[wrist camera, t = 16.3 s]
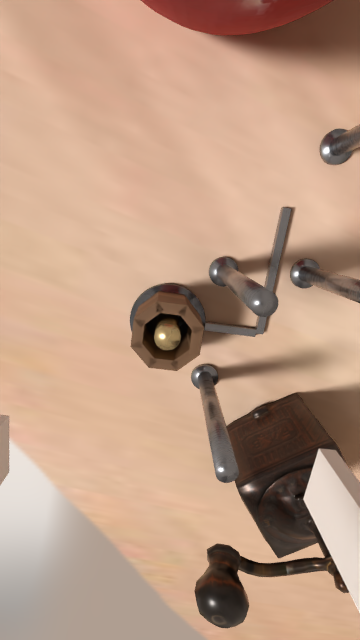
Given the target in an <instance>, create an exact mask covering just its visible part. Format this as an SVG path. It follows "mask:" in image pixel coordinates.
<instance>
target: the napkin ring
mask: <svg viewBox="0 0 360 640" xmlns="http://www.w3.org/2000/svg"><path fill="white" fill-rule="evenodd" d="M159 313H165V314H173V315H181V317H182V318H183V319H184V320H185V322H186V323H187V324H188V328H187V333H186V334H184V335H183V336H181V340H180V343H179V345H178V346H177V347H176V348H174V349H172V350H163V349H161V348H159V347H158V346H157V345H156V343H155V340H154V337H153V335H152V334H151V333H150V332H149V331H148V329H147V328H146V324H147V322H149V321H150V320H151V319H153V318H154V317H155V316H157V315H158V314H159ZM203 332H204V326H203V323H202V320H201V317H200V315H199V313H198V312H197V310H196V309H195V308H194V306H193V305H192V304H191V302H190V301H189V300H188V299H187V297H186V296H185V295H184V294H178V293H171V292H163V291H158V292H157V293H156V294H154V295H153V296H152V297H150V298H149V299H148V300H146V301H145V302H144V303H142V304H141V305H140V306H139V307H138V309H137V312H136V314H135V317H134V321H133V330H132V340H131V347H132V349H133V350H134V351H135V352H136V353H137V354H138V356H139V357H140V358H141V359H142V360H143V361H144V363H145V364H146V365H147V366H148V367H149V368H156V369H165V370H173V371H177V370H179V369H180V368H182V367H183V366H185V365H186V364H187V363H189V362H190V361H192V360H193V359H194V358H196V357H197V356H199V355H200V349H201V343H202V338H203Z"/></svg>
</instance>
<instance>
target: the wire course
mask: <svg viewBox="0 0 360 640" xmlns="http://www.w3.org/2000/svg"><path fill="white" fill-rule="evenodd" d="M358 147H360V125H358V126H356V127H354V128H352V129H351V130H349V131H346V130H344V129H335V130H333V131H331V132H329V133H328V134H327V135H326V136H325V137H324V138H323V140H322V142H321V145H320V155H321V158H322V159H323V161H324V162H326V163H327V164H329V165H338V164H340V163H343V162H344V161H346V160H347V159H348V158H349V157H350V155H351V153H352V151H353V150H354V149H356V148H358ZM290 212H291V209H290V208H284V207H283V208H281V212H280V216H279V221H278V226H277V230H276V235H275V239H274V244H273V249H272V253H271V258H270V262H269V267H268V272H267V276H266V281H265V285H264V287H263V286H261V285H260V284H258V283H257V282H255V281H253V280H252V279H250V278H248V277H247V276H245V275H243V274H242V273H240V272H238V266H237V264H236V263H235V262H234V261H233V260H232V259H230V258H228V257H220V258H217V259H216V260H214V261H213V262H212V264H211V265H210V268H209V276H210V279H211V280H212V281H213V283H214V284H216V285H218V286H223V287H224V286H227V287H228V288H229V289H230V290H231V291H232V292H233V293H234V294H235V295H236V296H237V297H238V298H239V299H240V300H242V301H243V302H244V303H245V304H246V305H247V306H248V307H249V308H250V309H251V310H252V311H253V312H254V313H255V314H256V315H258V318H257V322H256V327H255V328H250V327H242V326H234V325H227V324H219V323H211V322H205V328H204V330H206V331H214V332H221V333H229V334H237V335H245V336H252V337H255V335H256V333H257V334H263V333H264V328H265V324H266V319H267V316H270V315H272V314H273V313H274V312H275V311H276V309H277V307H278V298H277V296H276V295H275V294H274V293H273V288H274V284H275V279H276V275H277V270H278V266H279V261H280V257H281V252H282V248H283V244H284V239H285V235H286V230H287V226H288V221H289V217H290ZM290 278H291V281H292V282H293V284H294V285H296V286H298V287H300V288H309V287H311V286H313V285H314V286H317V287H319V288H322V289H324V290H327V291H330V292H332V293H335V294H337V295H340V296H343V297H345V298H348V299H350V300H353V301H356V302H358V303H360V280H359V279H355V278H351V277H347V276H344V275H340V274H336V273H332V272H328V271H324V270H321V269H320V268H319V265H318V264H317V263H316V262H315V261H313V260H310V259H302V260H299V261H298V262H296V263H295V264H294V265H293V267H292V269H291V271H290ZM191 379H192V383H193V384H194V386H195V387H197V388H198V389H200V393H201V399H202V404H203V409H204V415H205V420H206V425H207V430H208V436H209V441H210V446H211V452H212V457H213V462H214V468H215V473H216V477H217V479H218V480H219V481H221V482H224V483H229V482H232V481H234V480H235V479H236V478H237V477H238V475H239V469H238V466H237V463H236V459H235V456H234V452H233V449H232V445H231V442H230V438H229V435H228V431H227V428H226V424H225V421H224V417H223V414H222V410H221V407H220V403H219V400H218V396H217V393H216V389H215V384H216V383H217V381H218V374H217V371H216V369H215V368H214V367H213V366H211V365H208V364H202V365H199V366H197V367H196V368H195V369H194V370H193V371H192V374H191Z"/></svg>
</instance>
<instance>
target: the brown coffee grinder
mask: <svg viewBox="0 0 360 640" xmlns="http://www.w3.org/2000/svg"><path fill="white" fill-rule="evenodd" d="M226 428H227V431H228V435H229V438H230V442H231V445H232V449H233V452H234V456H235V459H236V463H237V466H238V469H239V475H238V477H237V478H236V479H235V483H236V487H237V489H238V491H239V494H240V496H241V499H242V501H243V502H244V504H245V506H246V508H247V509H248V511H249V513H250V514H251V516H252V518H253V519H254V521H255V522H256V524H257V526H258V528H259V530H260V532H261V533H262V535H263V537H264V538H265V540H266V541H267V542H268V544H269V545H270V547H271V548H272V550H273V551H274V553H275V554H276V556H277V557H278V558H281V557H283V556H286V555H289V554H291V553H294V552H296V551H299V550H301V549H304V548H306V547H308V546H311V545H313V544H316V543H319V546H320V548H321V550H322V552H323V554H324V556H325V558H317V557H314V558H303V559H297V560H292V561H287V562H278V563H258V562H254V561H251V560H248V559H246V558H244V557H242V556H240V555H239V552H238V551H236V550H235V549H233V548H232V547H231V546H229V545H224V544H215V545H214V546H212V547H210V548H208V549H207V557H208V562H209V567H208V568H207V570H206V572H205V573H204V574H203V575H202V576H201V577H200V579H199V580H198V581H197V582H196V587H195V596H196V601H197V606H198V609H199V612H200V614H201V615H202V616H203V617H204V618H205V619H206V620H207V621H209V622H210V623H212V624H214V625H216V626H218V627H221V628H230V627H234V626H237V625H239V624H241V623H242V622H243V621H244V619H245V617H246V615H247V611H248V608H249V602H248V597H247V594H246V592H245V590H244V588H243V586H242V584H241V582H240V580H239V577H238V574H237V572H238V570H241V571H243V572H245V573H247V574H251V575H255V576H258V577H278V576H287V575H294V574H301V573H308V572H316V571H328V572H329V573H330V574H331V575H332V576H334V581H335V586H336V588H338V589H339V590H340V591H342V592H343V593H348V592H349V591H348V589H347V586H346V584H345V582H344V580H343V578H342V576H341V574H340V572H339V570H338V568H337V566H336V564H335V562H334V560H333V558H332V556H331V554H330V552H329V550H328V548H327V546H326V544H325V542H324V540H323V538H322V536H321V534H320V532H319V530H318V528H317V526H316V524H315V522H314V520H313V518H312V516H311V514H310V512H309V510H308V508H307V506H306V504H305V502H304V500H303V499H304V495H305V492H306V489H307V485H308V482H309V479H310V476H311V472H312V469H313V466H314V463H315V459H316V456H317V453H318V450H319V448H320V449H330V450H336V451H337V453H338V454H339V455H340V457H341V458H342V459H343V460H344V462H345V463H346V461H345V459H344V457H343V455H342V453H341V451H340V449H339V448H338V446H337V445H336V443H335V442H334V441H333V440H332V439H331V437H330V436H329V435H328V434H327V432H326V431H325V430H324V428H323V427H322V426H321V424H320V423H319V422H318V421H317V419H316V418H315V417H314V415H313V414H312V413H311V412H310V410H309V409H308V408H307V407H306V405H305V404H304V402H303V400H302V398H301V397H300V396H299V395H298V394H297V393H295V394H293V395H290V396H288V397H285V398H283V399H280V400H278V401H275V402H273V403H270V404H267V405H264V406H262V407H260V408H257V409H255V410H253V411H251V412H250V413H249V414H247V415H245V416H244V417H242V418H240V419H238V420H236V421H234V422H232V423H231V424H229V425H228V426H227V427H226ZM346 464H347V463H346Z"/></svg>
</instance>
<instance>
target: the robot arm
mask: <svg viewBox="0 0 360 640" xmlns="http://www.w3.org/2000/svg"><path fill="white" fill-rule="evenodd" d="M8 473H9V416H6V415H0V485H1V483H2V482H3V480H4V479H5V477H6V476H7V474H8ZM303 500H304V502H305V504H306V506H307V508H308V510H309V512H310V514H311V516H312V518H313V520H314V522H315V524H316V526H317V528H318V530H319V532H320V534H321V536H322V538H323V540H324V542H325V544H326V546H327V548H328V550H329V552H330V554H331V556H332V558H333V560H334V562H335V564H336V566H337V568H338V570H339V572H340V574H341V576H342V578H343V580H344V582H345V584H346V586H347V589H348V591H349V593H350V595H351V597H352V599H353V601H354V603H355V605H356V607H357V609H358V611H359V613H360V482H359V480H358V479H357V478H356V476H355V475H354V474H353V472H352V471H351V470H350V468H349V467H348V466H347V464H346V463H345V462H344V460H343V459H342V458H341V457H340V455H339V454H338V453H337V451H336V450H330V449H320V448H319V450H318V453H317V456H316V459H315V463H314V466H313V469H312V472H311V476H310V479H309V482H308V485H307V489H306V492H305V495H304V499H303Z"/></svg>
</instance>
